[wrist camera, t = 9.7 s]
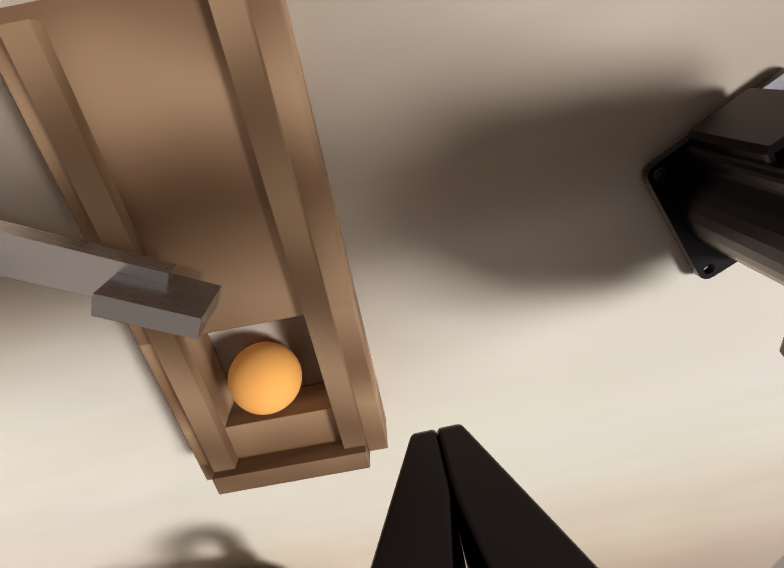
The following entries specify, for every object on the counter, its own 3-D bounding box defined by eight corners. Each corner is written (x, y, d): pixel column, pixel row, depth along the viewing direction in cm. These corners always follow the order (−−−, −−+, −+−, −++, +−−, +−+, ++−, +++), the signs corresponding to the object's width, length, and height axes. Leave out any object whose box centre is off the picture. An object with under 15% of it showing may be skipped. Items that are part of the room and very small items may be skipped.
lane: (16, 20, 15) (-57, 10, 13) (277, -33, 15) (259, -54, 12) (218, 449, 24) (200, 497, 21) (385, 419, 24) (388, 464, 21)
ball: (321, 373, 22) (309, 391, 19) (271, 416, 22) (250, 440, 19) (278, 323, 22) (258, 332, 19) (228, 365, 22) (200, 382, 19)
